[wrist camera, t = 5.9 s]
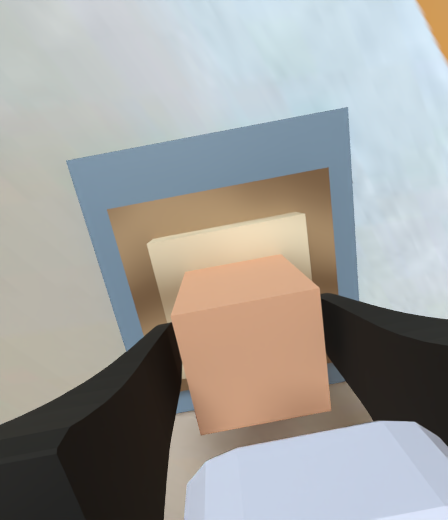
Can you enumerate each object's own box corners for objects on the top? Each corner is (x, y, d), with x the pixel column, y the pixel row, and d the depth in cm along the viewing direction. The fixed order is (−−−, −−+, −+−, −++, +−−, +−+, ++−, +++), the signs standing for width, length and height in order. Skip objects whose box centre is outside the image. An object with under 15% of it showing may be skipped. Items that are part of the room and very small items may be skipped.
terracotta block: (291, 339, 15) (331, 410, 10) (204, 355, 15) (200, 435, 10) (280, 253, 14) (319, 287, 9) (184, 271, 14) (170, 316, 9)
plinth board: (356, 369, 20) (390, 410, 16) (150, 408, 20) (136, 459, 16) (339, 112, 16) (381, 86, 12) (74, 162, 16) (30, 152, 12)
